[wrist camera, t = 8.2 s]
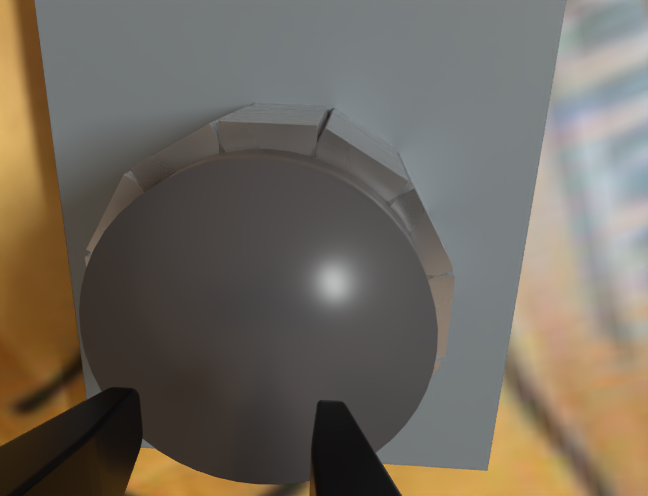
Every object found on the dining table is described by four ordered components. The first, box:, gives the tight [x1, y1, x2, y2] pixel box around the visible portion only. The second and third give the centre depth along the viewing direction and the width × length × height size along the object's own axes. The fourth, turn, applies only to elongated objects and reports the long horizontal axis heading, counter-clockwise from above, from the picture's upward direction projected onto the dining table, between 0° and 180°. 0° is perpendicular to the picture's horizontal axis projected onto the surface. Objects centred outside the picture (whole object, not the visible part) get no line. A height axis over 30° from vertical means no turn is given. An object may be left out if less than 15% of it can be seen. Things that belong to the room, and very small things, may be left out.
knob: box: [79, 149, 438, 485], centre depth 13 cm, size 7×7×5 cm
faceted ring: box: [85, 103, 455, 376], centre depth 14 cm, size 8×8×4 cm
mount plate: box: [34, 0, 566, 471], centre depth 17 cm, size 16×14×2 cm
